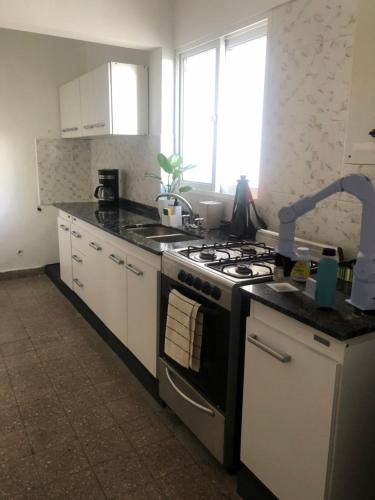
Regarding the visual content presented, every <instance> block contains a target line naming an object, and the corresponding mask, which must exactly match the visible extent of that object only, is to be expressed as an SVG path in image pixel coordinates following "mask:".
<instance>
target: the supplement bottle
mask: <svg viewBox="0 0 375 500" xmlns="http://www.w3.org/2000/svg"><path fill="white" fill-rule="evenodd" d="M309 253H310V248H308V247H303V246H302V247H299V246H298V247H297V248H296V253H295V254H296V255H298V258H297V260H298V261H297V263H296V264H295V265H294V267H293V269H292V280H294V281H296V282H306V279H307V278H310V270H311V263H312V262H311V259H312V257H311V255H310V254H309Z"/></svg>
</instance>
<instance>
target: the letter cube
mask: <svg viewBox="0 0 375 500" xmlns="http://www.w3.org/2000/svg"><path fill="white" fill-rule="evenodd" d="M292 272H293V271H292ZM292 272H291V275H290V277H284V269H283V266H278V267H276V266H273V273H272V274H273V275H272V280H273V281H275V282H276V283H288V284H290V283H292V280H293V279H292Z"/></svg>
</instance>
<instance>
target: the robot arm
mask: <svg viewBox="0 0 375 500" xmlns="http://www.w3.org/2000/svg"><path fill="white" fill-rule="evenodd" d="M345 192H346V193H347V194H349V195H351V196H354V197H355V198H357V200H358V201H359V202H360V203H362V205H361V206H362V207H361V217H360V218H361V221H360V232H359V233H360V234H359V247H358V248H359V249H358V253H357V256H356V262H355V264H354V265H353V268H352V273H353V277H352V286H351V293H350V299H349V298H347V299H344V302H346V303H348V304H350V305H351V306H354V307H355V308H357V309H359V310H361V311H370V310H375V186H374V185H373V182H372V180H371V178H369V177H368V176H366V174H364V173H361V172H357V173H349V174H345V175H344V176H343V177H340V178H337V179H336V180H334V181H332V182H331V183H329V184H328V185H326V186H324V187H323V188H320V189H319V190H318V191H316V192H315V193H314V194H312V195H311V194H305V195H304V194H301V195H299V198H298V199H297V200H295V201H293V202H292V201H291V202H289V203H288V206H282V207H281V208H280V209H279V210H278V211H277V212H278V213H277V218H278V220H279V226H278V236H277V237H278V239H277V246H273V251H272V252H273V253H272V258H273V261H274V264H275V267H278V266H283V269H284V277H290V275H291V272H293V267H294V265H295V264H296V263H297V261H298V260H297V258H298V255H296V254H297V253H296V252H295V251H294V246H295V235H296V224H297V223H296V221H297V220H298V219H299V218H300V217H302V216H304V215H306V214H307V213H310V212H311V211H313V210H315V209H316V205H317V204H318V203H319V202H321V201H323V200H325V199H327V198H329V197H331V196H333V195H335V194H337V193H345Z"/></svg>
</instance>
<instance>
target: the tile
mask: <svg viewBox="0 0 375 500" xmlns="http://www.w3.org/2000/svg"><path fill="white" fill-rule="evenodd" d="M265 284H266V285H265V286H267V287H269V288H270V289H272V291H274V292H276V293H286V292H288V293H289V292H299V291H300V289H299V288H297V287H295V286H293V285H292V284H290V283H278V282H276V283H265Z"/></svg>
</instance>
